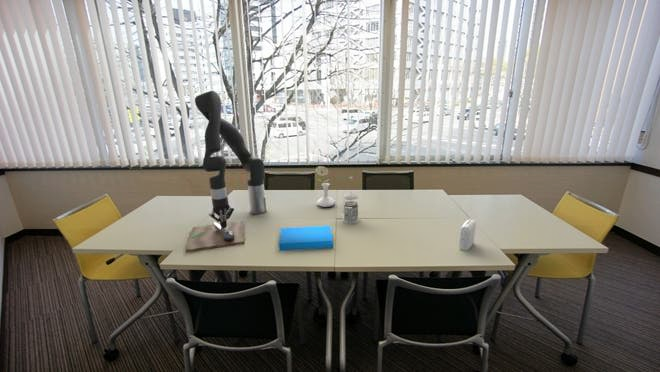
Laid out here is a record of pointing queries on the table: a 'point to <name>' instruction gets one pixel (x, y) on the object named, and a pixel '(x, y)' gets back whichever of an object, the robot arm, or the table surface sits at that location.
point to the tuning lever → (225, 233)
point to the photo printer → (467, 234)
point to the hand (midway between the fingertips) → (223, 227)
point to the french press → (353, 212)
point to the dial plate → (214, 237)
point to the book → (305, 238)
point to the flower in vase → (325, 200)
